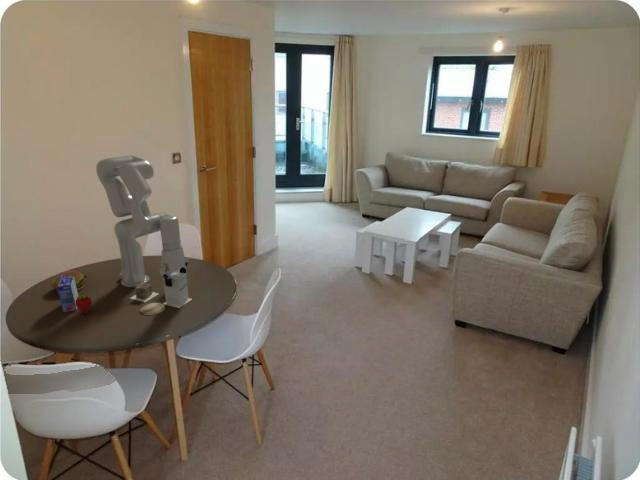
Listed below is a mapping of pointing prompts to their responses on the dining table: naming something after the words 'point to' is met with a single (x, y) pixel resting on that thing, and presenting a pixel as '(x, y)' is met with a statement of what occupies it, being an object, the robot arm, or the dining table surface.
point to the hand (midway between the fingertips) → (176, 281)
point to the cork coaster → (152, 308)
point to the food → (77, 276)
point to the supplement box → (176, 289)
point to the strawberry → (83, 303)
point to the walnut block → (143, 291)
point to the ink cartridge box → (67, 293)
